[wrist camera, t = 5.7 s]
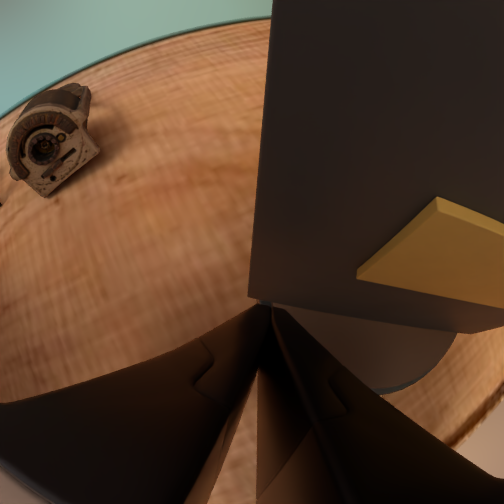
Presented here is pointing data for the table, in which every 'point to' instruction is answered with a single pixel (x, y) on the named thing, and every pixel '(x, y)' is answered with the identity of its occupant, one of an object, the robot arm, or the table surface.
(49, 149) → the mechanical counter
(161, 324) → the table surface
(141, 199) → the table surface
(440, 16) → the dark upright block
